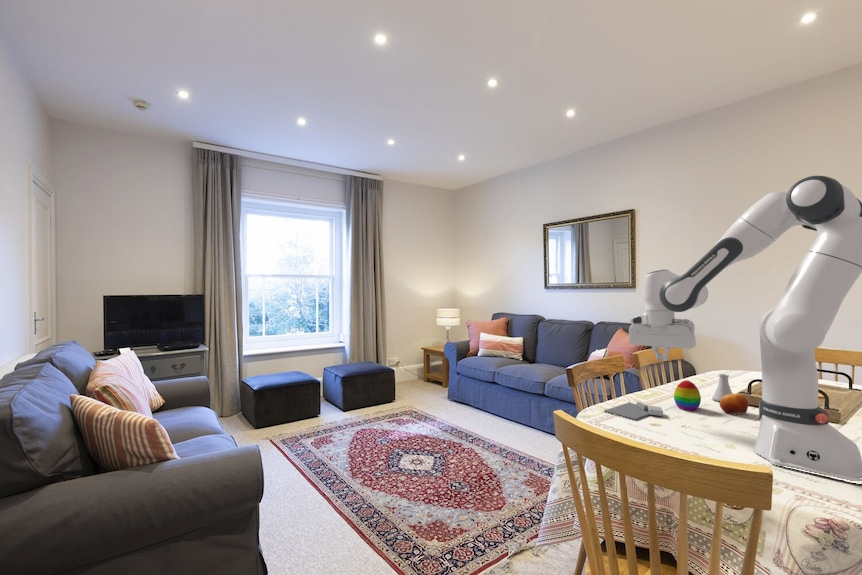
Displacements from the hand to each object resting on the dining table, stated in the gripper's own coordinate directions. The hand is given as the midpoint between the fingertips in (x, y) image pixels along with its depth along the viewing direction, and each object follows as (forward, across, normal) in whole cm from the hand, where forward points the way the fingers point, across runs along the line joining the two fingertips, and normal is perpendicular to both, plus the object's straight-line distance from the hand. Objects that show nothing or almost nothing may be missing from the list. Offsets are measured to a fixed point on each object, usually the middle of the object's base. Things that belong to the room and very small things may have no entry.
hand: (661, 360), depth 137 cm
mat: (+19, +10, +2) cm, 22 cm away
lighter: (+18, +4, +1) cm, 18 cm away
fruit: (+21, -12, -25) cm, 34 cm away
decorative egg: (+20, +1, -18) cm, 27 cm away
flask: (+21, -4, -39) cm, 44 cm away
